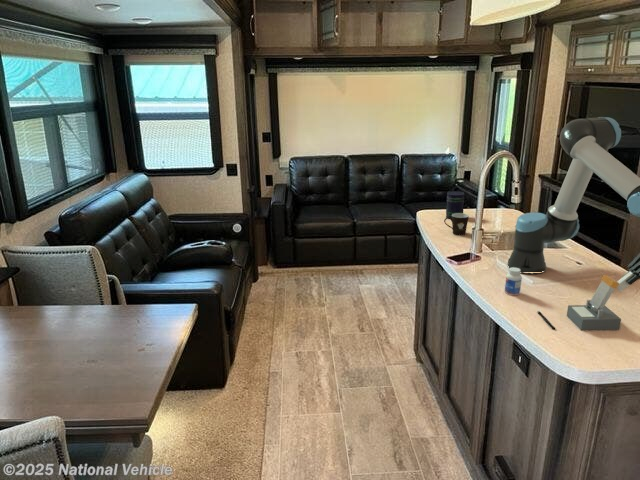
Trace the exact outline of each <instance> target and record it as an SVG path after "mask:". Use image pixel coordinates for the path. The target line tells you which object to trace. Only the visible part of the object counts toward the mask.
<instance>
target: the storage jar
mask: <svg viewBox="0 0 640 480" xmlns="http://www.w3.org/2000/svg"><path fill="white" fill-rule="evenodd" d="M464 203H465V192H463V191H458V190H455V191H452V190H451V191H447V194H446V207H445V208H446V209H445V219H446V218H451V219H452V214H456V213H463V214H464Z"/></svg>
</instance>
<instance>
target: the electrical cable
mask: <svg viewBox="0 0 640 480" xmlns="http://www.w3.org/2000/svg"><path fill="white" fill-rule="evenodd" d="M536 313H537V315H539V316H540V317H541V318H542V319H543V321H544V322H545V323H546V324H547V325H548V326H549V327H550V328H551V330H553V331H556V327H555V326H554V325H553V324H552V323H551V322H550V321H549V319H547V317H546V316H544V314H543V313H542V312H541V311H540V310H537V312H536Z"/></svg>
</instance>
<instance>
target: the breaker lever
mask: <svg viewBox="0 0 640 480" xmlns="http://www.w3.org/2000/svg"><path fill="white" fill-rule="evenodd" d="M600 281H601V282H600V283H599V285H598V287H597V289H596V291H595V292H594V294H593V296H592V297H591V299H590V300H591V301H590V302H589V303H588V306H589V307H590V308H591V309H592V310H593V311H594V312H595V313H597V314H598V310H602V309H603V307H604V306H606V304H607V302H609V301H608V300H609V299H610V297H611V295H612V294H613V293H614V291H615V289H617V286H618V285H619V283H618V282H617V281H618V280H615V279H614V278H613V277H611V276H610V275H607V274H603V276H602V277H601V279H600Z"/></svg>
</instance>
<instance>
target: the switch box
mask: <svg viewBox="0 0 640 480" xmlns="http://www.w3.org/2000/svg"><path fill="white" fill-rule="evenodd" d="M590 301H591V299H586V303H585V304H582V305H581V304H578V305H577V304H575V305H572V304H571V305H569V304H568V306H567V310H566V317H567V318H568V319H569V320H570V321H571V322H572V323H573V325H575V326H576V327H577V328H578V329H579V330H580V331H582V332H583V331H620V328H621V323H622V318H621V317H619V316H618V315H617V314H616V313H615V312H614V311H612V310H611V309H610V308H609V307H608V306H607V305H605V306H604V307H603V309H602V310H598V314H597V313H595V312H594V311H593V310H592V309H591V308H590V307H589V306H588V303H589V302H590Z"/></svg>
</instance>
